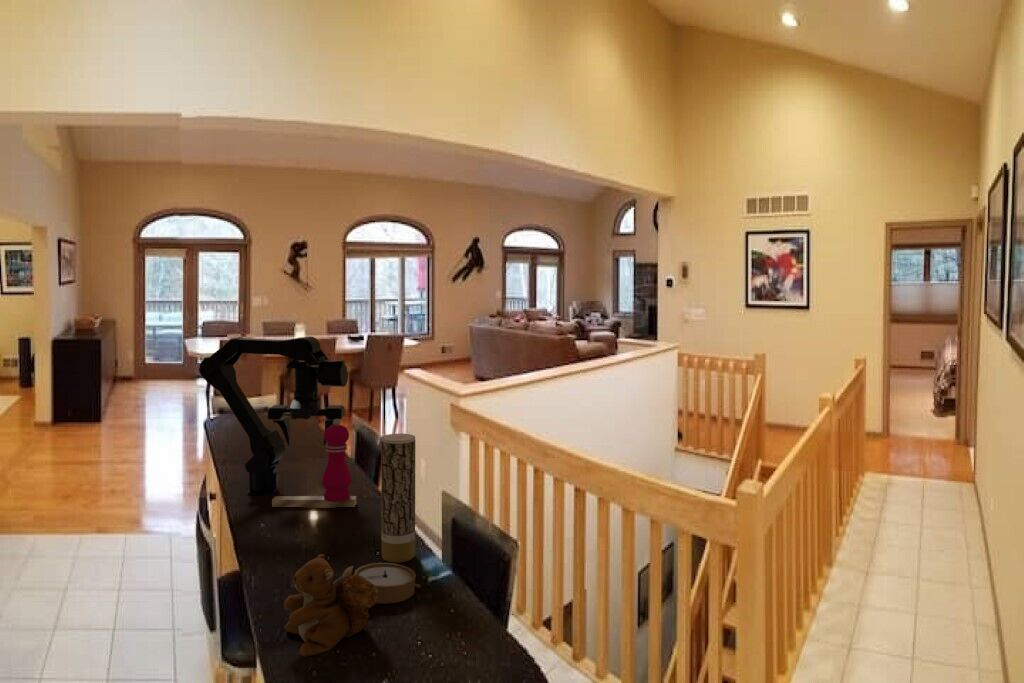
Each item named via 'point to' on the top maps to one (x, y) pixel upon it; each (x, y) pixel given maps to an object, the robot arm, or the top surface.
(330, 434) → the pepper mill
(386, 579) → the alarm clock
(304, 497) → the flat beige strip
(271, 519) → the top surface
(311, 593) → the stuffed squirrel
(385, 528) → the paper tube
